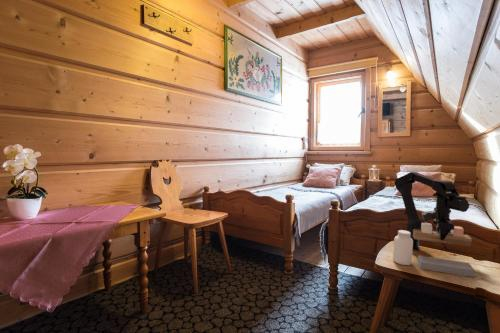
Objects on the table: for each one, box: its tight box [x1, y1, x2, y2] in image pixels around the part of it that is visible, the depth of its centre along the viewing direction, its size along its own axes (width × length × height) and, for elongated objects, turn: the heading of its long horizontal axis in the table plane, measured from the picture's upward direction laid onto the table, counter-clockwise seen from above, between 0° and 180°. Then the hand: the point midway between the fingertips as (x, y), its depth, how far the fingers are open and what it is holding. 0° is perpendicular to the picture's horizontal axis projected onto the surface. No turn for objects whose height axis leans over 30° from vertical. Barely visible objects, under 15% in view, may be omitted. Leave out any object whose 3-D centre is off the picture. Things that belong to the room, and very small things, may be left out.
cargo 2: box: [450, 225, 465, 237], centre depth 135 cm, size 4×4×4 cm
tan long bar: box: [413, 229, 473, 247], centre depth 138 cm, size 6×23×4 cm, turn 67°
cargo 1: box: [421, 222, 433, 234], centre depth 140 cm, size 4×4×4 cm
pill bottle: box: [392, 229, 414, 266], centre depth 135 cm, size 8×8×15 cm
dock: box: [417, 255, 475, 278], centre depth 129 cm, size 8×20×3 cm, turn 67°
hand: (440, 238), depth 138 cm, fingers closed on tan long bar, 5 cm apart
